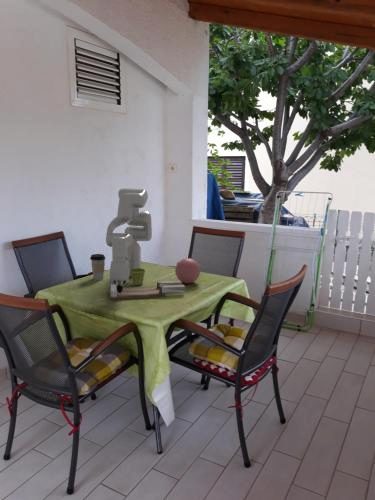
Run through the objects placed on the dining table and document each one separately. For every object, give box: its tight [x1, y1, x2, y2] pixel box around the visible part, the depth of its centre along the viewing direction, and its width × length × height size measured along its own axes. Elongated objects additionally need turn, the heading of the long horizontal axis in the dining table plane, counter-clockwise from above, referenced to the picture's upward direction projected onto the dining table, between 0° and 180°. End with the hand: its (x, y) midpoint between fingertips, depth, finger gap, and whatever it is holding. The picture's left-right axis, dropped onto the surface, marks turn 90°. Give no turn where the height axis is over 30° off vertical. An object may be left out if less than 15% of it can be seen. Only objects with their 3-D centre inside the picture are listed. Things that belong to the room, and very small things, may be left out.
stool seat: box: [108, 280, 186, 301], centre depth 228 cm, size 14×42×5 cm, turn 104°
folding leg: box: [110, 282, 117, 297], centre depth 222 cm, size 15×3×3 cm, turn 11°
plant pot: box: [130, 267, 146, 286], centre depth 245 cm, size 9×9×9 cm
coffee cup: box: [89, 253, 107, 281], centre depth 253 cm, size 9×9×15 cm
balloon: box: [174, 257, 201, 284], centre depth 251 cm, size 15×20×15 cm
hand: (119, 292), depth 219 cm, fingers closed
